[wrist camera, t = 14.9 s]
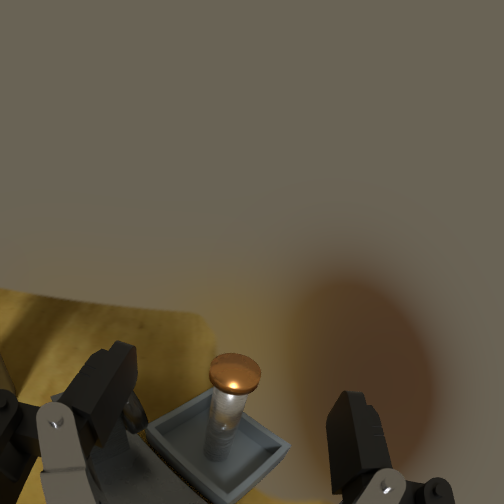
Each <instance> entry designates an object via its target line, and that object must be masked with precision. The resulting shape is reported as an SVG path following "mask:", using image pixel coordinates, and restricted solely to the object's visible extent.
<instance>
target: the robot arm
mask: <svg viewBox="0 0 504 504" xmlns="http://www.w3.org/2000/svg"><path fill="white" fill-rule="evenodd" d="M137 376H138V370H137V353H136V347H135V346H133V345H130V344H127V343H124V342H121V341H116V342H115V343H114V344H113V345H112V347H111V348H110V349H109V351H107V350H105V349H101V350H99V351H97V352H96V353H94V354H92V355H91V356H90V358H89V359H88V360H87V362H86V363H85V365H84V366H83V367H82V368H81V370H80V371H79V373H78V374H77V375H76V376H75V378H74V379H73V380H72V382H71V383H70V385H69V386H68V387H67V389H66V390H65V392H64V393H63V394H62V396H61V397H60V398H59V400H58V401H57V402H49V403H46V404H44V405H43V406H41V407H38V406H33V405H29V404H25V403H21V402H18V400H17V398H16V396H15V388H14V385H13V382H12V380H11V378H10V376H9V373H8V371H7V369H6V366H5V364H4V361H3V359H2V356H1V354H0V504H16V502H17V500H18V498H19V495H20V493H21V491H22V489H23V486H24V484H25V482H26V480H27V478H28V476H29V474H30V472H31V470H32V467H33V465H34V463H35V461H36V459H37V457H38V456H39V457H42V462H43V471H41V474H40V477H41V483H42V488H43V492H44V496H45V499H46V503H47V504H109V503H108V501H107V499H106V497H105V495H104V492H103V490H102V487H101V484H100V481H99V478H98V475H97V472H96V469H95V466H94V463H93V460H92V456H91V453H90V452H91V450H92V448H93V446H94V445H96V446H98V447H100V448H104V446H105V444H106V442H107V440H108V438H109V436H110V434H111V432H112V430H113V428H114V426H115V424H116V422H117V420H118V418H119V416H120V414H121V412H122V410H123V408H124V406H125V404H126V402H127V400H128V398H129V396H130V395H131V393H132V391H133V389H134V387H135V384H136V381H137ZM381 426H382V425H381V421H380V418H379V415H378V413H377V412H376V411H375V409H374V408H373V406H372V405H366V400H365V397H364V394H363V393H362V392H353V391H343V392H342V393H341V395H340V396H339V398H338V400H337V401H336V403H335V405H334V406H333V408H332V409H331V411H330V413H329V414H328V417H327V421H326V432H327V441H328V451H329V462H330V473H331V485H332V494H333V495H338V494H342V497H343V500H342V501H341V502H340V503H339V504H455V501H454V496H453V492H452V488H451V486H450V484H449V483H448V482H447V481H446V480H445V479H443V478H439V477H437V478H432V479H430V480H429V481H428V482H426V483H425V484H423V483H416V482H411V481H407V480H405V478H404V477H403V475H402V474H401V473H400V472H398V471H397V470H394V469H393V468H392V465H391V461H390V456H389V452H388V448H387V444H386V440H385V437H384V436H383V435H384V433H383V429H382V428H381Z"/></svg>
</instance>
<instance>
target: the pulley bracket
mask: <svg viewBox="0 0 504 504" xmlns="http://www.w3.org/2000/svg"><path fill="white" fill-rule="evenodd" d="M63 393H64V392H62V393H59V394H57V395H54V396H51V400H52V402H57V401H58V400H59V398H60V397H61V396H62V394H63ZM147 427H148V420H147V417H146V414H145V411H144V409H143V407H142V405H141V403H140V401H139V399H138V398H137V396H136V394H135V393H134V391H132V393H131V395H130V396H129V398H128V400H127V402H126V404H125V406H124V408H123V410H122V412H121V414H120V416H119V418H118V420H117V422H116V424H115V426H114V428H113V430H112V432H111V434H110V436H109V438H108V440H107V442H106V444H105V446H104V448H100V447H98V446H96V445H94V446H93V448H92V450H91V452H90V453H91V456H92V460H93V463H94V466H95V469H96V472H97V475H98V478H99V481H100V484H101V487H102V490H103V492H104V495H105V497H106V499H107V501H108V503H109V504H208V503H207V502H205V501H204V500H203V499H202V498H201V497H200V496H198V495H197V494H196V493H195V492H194V491H193V490H192V489H190V488H189V487H188V486H187V485H186V484H185V483H184V482H183V481H182V480H181V479H180V478H179V477H178V476H176V475H175V474H174V473H173V472H172V471H171V470H170V469H169V468H168V467H167V466H166V465H165V464H164V463H163V462H162V461H161V460H160V458H159V457H158V456H157V455H156V454H155V453H154V452H153V451H152V450H151V449H150V448H149V447H148V446H147V444H146V443H145V442H144V441H143V440H142V439H141V438H140V437H139V435H138V434H137V433H138V432H140V431H142V430H144V429H146V428H147Z"/></svg>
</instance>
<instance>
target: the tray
mask: <svg viewBox="0 0 504 504" xmlns="http://www.w3.org/2000/svg"><path fill="white" fill-rule="evenodd" d="M212 394H213V388H211V389H209V390H207V391H206V392H204V393H202V394H200V395H199V396H197V397H195V398H194V399H192V400H190V401H188V402H187V403H185V404H183V405H181V406H180V407H178V408H176V409H174V410H173V411H171V412H169V413H167V414H165V415H163V416H162V417H160V418H158V419H156V420H154V421H152V422H150V423H148V427H147V428H146V429H145V432H146V439H147V441H148V442H149V443H150V444H151V446H152V447H153V448H154V449H155V450H156V451H157V452H158V453H159V454H160V455H161V456H162V457H163V458H164V459H165V460H166V461H167V462H168V463H169V464H170V465H171V466H172V467H173V468H174V469H175V470H176V471H177V472H178V473H179V474H180V475H181V476H182V477H183V478H184V479H185V480H186V481H188V482H189V483H190V484H191V485H192V486H193V487H194V488H195V489H196V490H198V491H199V492H200V493H201V494H202V495H203V496H205V497H206V498H207V499H208V500H209V501H211V502H212V503H213V504H235V503H236V502H237V501H238V500H240V499H241V498H242V497H243V496H244V495H245V494H247V493H248V492H249V491H250V490H251V489H252V488H253V487H254V486H256V485H257V484H258V483H259V482H260V481H261V480H262V479H263V478H264V477H265V476H266V475H267V474H268V473H269V472H270V471H271V470H272V469H274V468H275V467H276V466H277V465H278V464H279V463H280V461H281V460H283V458H284V457H285V455H286V454H287V452H288V450H289V449H290V447H291V445H290V444H289V443H287V442H286V441H284V440H283V439H281V438H280V437H278V436H277V435H275V434H274V433H272V432H271V431H269V430H268V429H267V428H265V427H264V426H262V425H261V424H259V423H258V422H257V421H255V420H254V419H252V418H251V417H250V416H248V415H247V414H246V413H244V412H243V413H242V416H241V419H240V423H239V426H238V429H237V432H236V435H235V439H234V442H233V445H232V448H231V451H230V454H229V457H228V458H227V459H226V460H225V461H222V462H213V461H210V460H208V459H207V458H206V457H205V456H204V454H203V447H204V441H205V435H206V429H207V423H208V417H209V411H210V406H211V400H212Z"/></svg>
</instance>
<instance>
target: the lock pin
mask: <svg viewBox="0 0 504 504" xmlns="http://www.w3.org/2000/svg"><path fill="white" fill-rule="evenodd" d="M260 377H261V370H260V367H259V366H258V364H257V363H256V362H255V361H254V360H252V359H251V358H249V357H247V356H244V355H241V354H236V353H226V354H222V355H219V356H217V357H216V358H214V359H213V361H212V362H211V365H210V371H209V379H210V381H211V383H212V384H213V386H214V388H213V394H212V400H211V406H210V411H209V417H208V423H207V429H206V435H205V441H204V447H203V454H204V456H205V457H206V458H207V459H208V460H210V461H213V462H222V461H225V460H226V459H227V458H228V457H229V454H230V451H231V448H232V445H233V442H234V439H235V435H236V432H237V429H238V426H239V423H240V419H241V416H242V413H243V409H244V406H245V403H246V399H247V396H248V394H249V393H251V392H253V391H254V390H255V389H256V388H257V386H258V384H259V381H260Z"/></svg>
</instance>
